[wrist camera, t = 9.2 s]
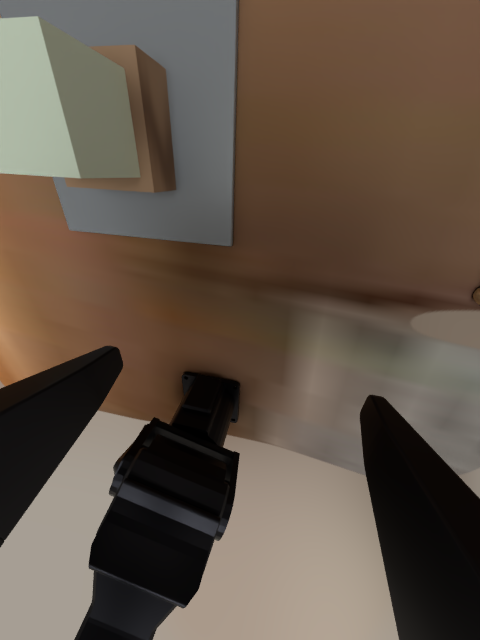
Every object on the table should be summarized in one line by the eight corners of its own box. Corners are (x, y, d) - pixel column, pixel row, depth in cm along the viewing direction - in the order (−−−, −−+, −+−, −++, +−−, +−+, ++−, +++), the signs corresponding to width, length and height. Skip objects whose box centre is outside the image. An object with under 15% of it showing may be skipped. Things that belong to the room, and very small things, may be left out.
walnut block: (176, 190, 17) (154, 192, 14) (100, 185, 18) (66, 186, 15) (165, 68, 13) (134, 44, 11) (73, 71, 14) (25, 49, 12)
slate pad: (232, 244, 18) (231, 246, 18) (74, 229, 20) (69, 230, 20) (239, -33, 11) (237, -40, 11) (0, -11, 14) (-10, -17, 13)
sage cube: (140, 177, 14) (80, 178, 10) (73, 173, 15) (-6, 172, 11) (124, 68, 11) (38, 16, 8) (45, 69, 12) (-70, 22, 8)
